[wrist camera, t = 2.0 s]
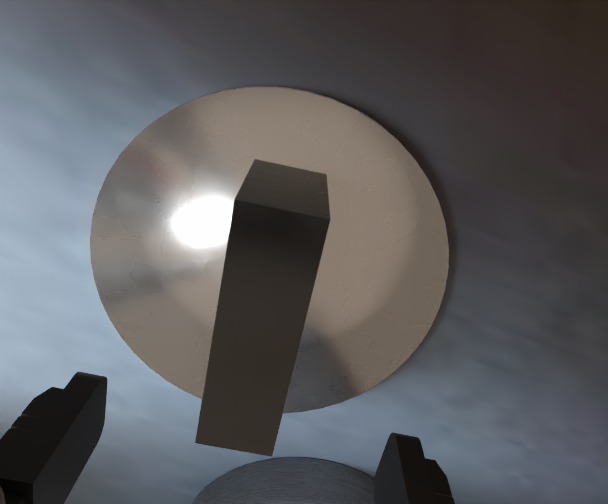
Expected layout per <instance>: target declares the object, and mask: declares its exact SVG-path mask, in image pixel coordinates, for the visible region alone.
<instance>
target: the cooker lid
mask: <svg viewBox="0 0 608 504" xmlns="http://www.w3.org/2000/svg"><path fill="white" fill-rule="evenodd" d="M90 249H91V263H92V269H93V275H94V280H95V284H96V287H97V290H98V293H99V296H100V299H101V302H102V304H103V306H104V308H105V310H106V312H107V314H108V316H109V318H110V320H111V322H112V323H113V325H114V327H115V328H116V330H117V331H118V333H119V334H120V336H121V337H122V339H123V340H124V341H125V342H126V343H127V345H128V346H129V347H130V348H131V349H132V351H133V352H134V353H135V354H136V355H137V356H138V357H139V358H140V359H141V360H142V361H143V362H144V363H145V364H146V365H148V366H149V367H150V368H151V369H152V370H154V371H155V372H156V373H158V374H159V375H160V376H161V377H163V378H164V379H165V380H167V381H169V382H170V383H172V384H174V385H175V386H177V387H179V388H180V389H182V390H184V391H186V392H188V393H190V394H192V395H194V396H197V397H199V398H201V399H202V405H201V411H200V417H199V423H198V429H197V436H196V442H195V443H198V444H204V445H209V446H215V447H221V448H227V449H232V450H238V451H244V452H250V453H255V454H261V455H267V456H272V454H273V450H274V446H275V442H276V438H277V434H278V429H279V425H280V421H281V417H282V413H293V412H303V411H309V410H314V409H320V408H324V407H327V406H330V405H334V404H337V403H340V402H343V401H345V400H348V399H350V398H352V397H355V396H357V395H359V394H361V393H363V392H365V391H367V390H368V389H370V388H372V387H374V386H375V385H377V384H378V383H380V382H381V381H383V380H384V379H385V378H387V377H388V376H389V375H391V374H392V373H393V372H394V371H396V370H397V369H398V368H399V367H400V366H401V365H402V364H403V363H404V362H405V361H406V360H407V359H408V358H409V357H410V356H411V355H412V353H413V352H414V351H415V350H416V348H417V347H418V346H419V345H420V344H421V342H422V340H423V339H424V337H425V336H426V334H427V332H428V331H429V329H430V328H431V326H432V324H433V322H434V319H435V317H436V315H437V313H438V311H439V308H440V305H441V302H442V299H443V295H444V292H445V288H446V282H447V275H448V268H449V244H448V238H447V231H446V224H445V220H444V217H443V214H442V211H441V207H440V204H439V201H438V199H437V197H436V195H435V192H434V190H433V188H432V186H431V184H430V182H429V180H428V178H427V177H426V175H425V174H424V172H423V171H422V169H421V168H420V166H419V165H418V163H417V162H416V160H415V159H414V158H413V157H412V155H411V154H410V153H409V152H408V151H407V150H406V149H405V148H404V146H403V145H402V144H401V143H400V142H399V141H398V140H397V139H396V138H395V137H394V136H393V135H392V134H391V133H390V132H388V131H387V130H386V129H385V128H384V127H382V126H381V125H380V124H379V123H378V122H376V121H375V120H373V119H372V118H370V117H369V116H367V115H365V114H364V113H362V112H361V111H359V110H357V109H356V108H354V107H352V106H349V105H347V104H345V103H343V102H341V101H338V100H336V99H334V98H332V97H329V96H325V95H322V94H318V93H315V92H312V91H308V90H304V89H297V88H290V87H284V86H247V87H239V88H231V89H226V90H222V91H218V92H215V93H211V94H207V95H204V96H201V97H199V98H197V99H194V100H192V101H190V102H187V103H185V104H183V105H180V106H178V107H176V108H175V109H173V110H171V111H170V112H168V113H166V114H165V115H163V116H162V117H160V118H158V119H157V120H155V121H154V122H153V123H151V124H150V125H149V126H148V127H147V128H145V129H144V130H143V131H142V132H141V133H140V134H138V135H137V136H136V137H135V138H134V139H133V140H132V142H131V143H130V144H129V145H128V146H127V147H126V148H125V150H124V151H123V152H122V153H121V154H120V155H119V157H118V159H117V160H116V162H115V163H114V165H113V166H112V168H111V170H110V171H109V173H108V174H107V177H106V179H105V181H104V183H103V186H102V188H101V190H100V193H99V195H98V198H97V202H96V206H95V209H94V213H93V217H92V226H91V235H90Z"/></svg>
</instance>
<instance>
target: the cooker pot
mask: <svg viewBox="0 0 608 504" xmlns="http://www.w3.org/2000/svg"><path fill="white" fill-rule="evenodd" d="M374 480H375V479H373V478H372V477H370V476H368V475H367V474H365V473H363V472H360V471H358V470H356V469H354V468H351V467H348V466H345V465H342V464H339V463H335V462H331V461H327V460H322V459H313V458H300V457H287V458H274V459H268V460H262V461H257V462H254V463H250V464H247V465H243V466H241V467H238V468H236V469H234V470H231V471H229V472H227V473H225V474H224V475H222V476H220V477H218V478H217V479H215V480H214V481H213V482H211V483H210V484H209V485H207V486H206V487H205V488H204V489H203V490H202V491H201V492H200V493H199V494H198V496H197V497H196V499H195V500H194V501H193V503H192V504H375V500H374Z"/></svg>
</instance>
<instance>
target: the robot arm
mask: <svg viewBox="0 0 608 504" xmlns="http://www.w3.org/2000/svg"><path fill="white" fill-rule="evenodd" d="M106 393H107V378H106V377H104V376H98V375H93V374H88V373H83V372H77V373H76V374H75V375H74V376H73V378H72V379H71V380H70V382H69V383H68V384H67V386H66V387H65V388H64V389H59V388H54V387H51V388H50V389H48V390H47V391H45V392H43V393H42V394H40V395H39V396H37V397H35V398H34V399H33V400H32V401H31V403H30V404H29V405H28V406H27V407H26V409H25V410H24V411H23V412H22V414H21V416H19V417H18V419H17V420H16V421H15V422H14V423H13V425H12V427H11V429H9V430H8V431H7V432H6V433H5V435H4V436H3V437H2V438H1V439H0V504H64V502H65V500H66V498H67V497H68V495H69V493H70V491H71V489H72V488H73V486H74V484H75V482H76V480H77V479H78V477H79V475H80V473H81V472H82V470H83V468H84V466H85V464H86V463H87V461H88V459H89V457H90V456H91V454H92V452H93V450H94V448H95V447H96V445H97V443H98V441H99V438H100V436H101V433H102V430H103V426H104V421H105V408H106ZM374 500H375V504H455V503H454V500H453V498H452V493H451V490H450V486H449V483H448V479H447V477H446V475H445V474H444V472H443V471H442V469H441V468H440V467H439V465H438V464H437V462H436V461H435V460H430V459H425V457H424V453H423V449H422V445H421V442H420V439H419V438H418V437H413V436H408V435H402V434H397V433H391V434H390V436H389V438H388V441H387V444H386V446H385V449H384V452H383V455H382V457H381V460H380V463H379V466H378V468H377V471H376V475H375V480H374Z"/></svg>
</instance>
